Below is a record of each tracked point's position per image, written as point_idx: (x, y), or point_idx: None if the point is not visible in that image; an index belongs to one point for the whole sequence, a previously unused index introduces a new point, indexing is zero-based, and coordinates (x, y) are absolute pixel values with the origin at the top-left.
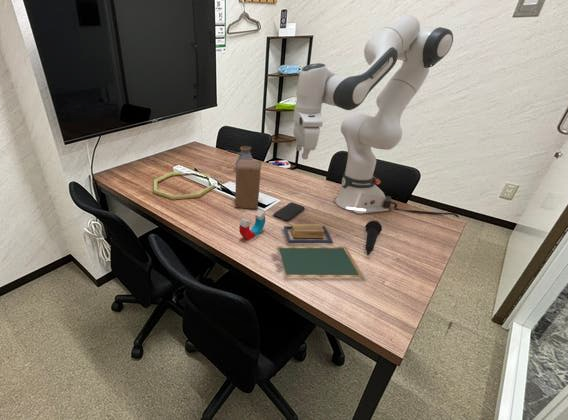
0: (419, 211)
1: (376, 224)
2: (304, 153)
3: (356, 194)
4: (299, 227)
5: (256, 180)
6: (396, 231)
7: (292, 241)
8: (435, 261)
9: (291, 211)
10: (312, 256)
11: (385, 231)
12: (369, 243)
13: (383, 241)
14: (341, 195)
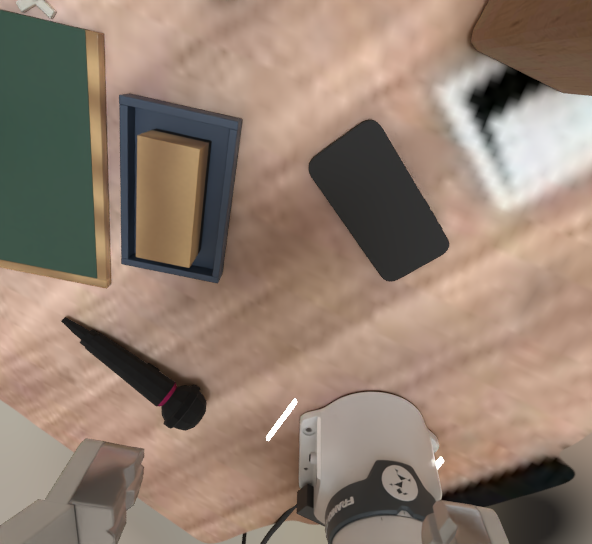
0: (272, 529)
1: (166, 419)
2: (7, 529)
3: (327, 467)
4: (167, 171)
5: (581, 2)
6: (195, 443)
7: (120, 111)
8: (67, 438)
9: (371, 214)
10: (38, 153)
11: None
12: (101, 354)
13: None
14: (378, 428)
